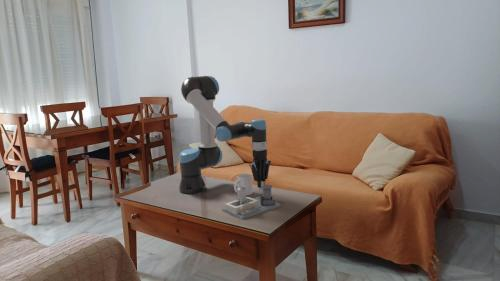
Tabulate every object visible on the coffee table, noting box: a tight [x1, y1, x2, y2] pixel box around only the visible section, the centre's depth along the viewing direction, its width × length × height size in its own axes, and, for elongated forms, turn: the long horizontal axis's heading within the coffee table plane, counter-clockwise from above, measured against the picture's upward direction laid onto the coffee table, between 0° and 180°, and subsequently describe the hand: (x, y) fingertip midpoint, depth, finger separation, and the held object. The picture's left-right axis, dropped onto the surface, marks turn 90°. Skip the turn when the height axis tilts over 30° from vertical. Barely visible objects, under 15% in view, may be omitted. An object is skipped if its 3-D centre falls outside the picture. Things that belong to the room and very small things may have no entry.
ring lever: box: [260, 195, 276, 205], centre depth 196 cm, size 18×7×2 cm, turn 2°
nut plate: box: [221, 184, 281, 220], centre depth 187 cm, size 16×24×10 cm, turn 128°
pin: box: [236, 187, 247, 206], centre depth 184 cm, size 4×4×10 cm
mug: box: [233, 173, 254, 197], centre depth 209 cm, size 12×8×10 cm
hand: (261, 193), depth 201 cm, fingers closed
